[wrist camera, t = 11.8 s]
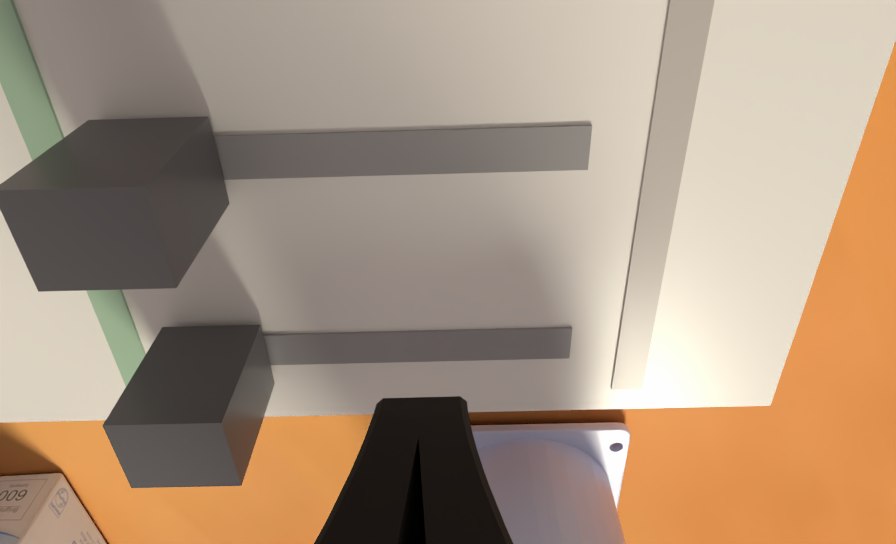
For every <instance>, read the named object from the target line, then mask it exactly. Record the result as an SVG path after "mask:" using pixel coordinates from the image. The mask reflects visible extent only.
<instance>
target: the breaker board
mask: <svg viewBox="0 0 896 544" xmlns="http://www.w3.org/2000/svg"><path fill="white" fill-rule="evenodd" d="M895 41H896V0H0V184H1V183H3V182H4V181H6V180H7V179H8V178H10V177H11V176H12V175H14V174H15V173H17V172H18V171H19V170H21V169H22V168H23V167H25V166H26V165H27V164H29V163H30V162H32V161H33V160H34V159H36V158H37V157H38V156H40V155H41V154H42V153H44V152H45V151H47V150H48V149H49V148H51V147H52V146H53V145H55V144H56V143H58V142H59V141H60V140H62V139H63V138H64V137H66V136H67V135H68V134H70V133H71V132H73V131H74V130H75V129H77V128H78V127H79V126H81V125H82V124H84V123H85V122H86V121H88V120H104V119H139V118H173V117H208V116H209V120H210V124H211V128H212V132H213V137H214V141H215V145H216V149H217V153H218V157H219V161H220V166H221V170H222V174H223V178H224V182H225V186H226V190H227V194H228V199H229V203H230V204H229V205H228V207H227V209H226V210H225V212H224V213H223V215H222V216H221V218H220V220H219V221H218V223H217V224H216V226H215V228H214V229H213V231H212V232H211V234H210V236H209V237H208V239H207V240H206V242H205V244H204V245H203V247H202V248H201V250H200V251H199V253H198V255H197V256H196V258H195V259H194V261H193V263H192V264H191V266H190V267H189V269H188V271H187V272H186V274H185V275H184V277H183V278H182V280H181V282H180V283H179V285H178V286H177V288H163V289H123V290H83V291H43V292H38V290H37V288H36V285H35V283H34V281H33V279H32V277H31V275H30V273H29V270H28V268H27V266H26V264H25V262H24V260H23V257H22V255H21V253H20V251H19V249H18V247H17V245H16V242H15V240H14V238H13V236H12V234H11V232H10V229H9V227H8V225H7V223H6V221H5V219H4V217H3V214H2V212H1V210H0V422H46V421H91V420H106V419H107V418H108V416H109V414H110V413H111V411H112V409H113V408H114V406H115V404H116V403H117V401H118V399H119V398H120V396H121V395H122V393H123V391H124V390H125V388H126V386H127V385H128V383H129V381H130V380H131V378H132V376H133V375H134V373H135V371H136V370H137V368H138V366H139V365H140V363H141V362H142V360H143V358H144V357H145V355H146V353H147V352H148V350H149V348H150V347H151V345H152V343H153V342H154V340H155V338H156V337H157V335H158V334H159V332H160V330H161V329H162V327H184V326H226V325H261V328H262V332H263V336H264V340H265V345H266V349H267V353H268V357H269V361H270V365H271V370H272V374H273V378H274V382H275V384H274V387H273V390H272V393H271V397H270V400H269V403H268V406H267V409H266V412H265V415H264V417H274V416H320V415H365V414H374V411H375V407H376V404H377V403H378V402H379V401H380V400H382V399H383V398H413V397H453V396H460V397H462V398H463V399H464V400H466V401H467V406H468V412H503V411H548V410H594V409H640V408H685V407H731V406H770V405H771V402H772V399H773V396H774V394H775V391H776V388H777V385H778V382H779V379H780V376H781V373H782V370H783V367H784V364H785V361H786V359H787V356H788V353H789V350H790V347H791V344H792V341H793V338H794V335H795V332H796V329H797V326H798V324H799V321H800V318H801V315H802V312H803V309H804V306H805V303H806V300H807V297H808V294H809V291H810V289H811V286H812V283H813V280H814V277H815V274H816V271H817V268H818V265H819V262H820V259H821V257H822V254H823V251H824V248H825V245H826V242H827V239H828V236H829V233H830V230H831V227H832V224H833V222H834V219H835V216H836V213H837V210H838V207H839V204H840V201H841V198H842V195H843V192H844V189H845V187H846V184H847V181H848V178H849V175H850V172H851V169H852V166H853V163H854V160H855V157H856V154H857V152H858V149H859V146H860V143H861V140H862V137H863V134H864V131H865V128H866V125H867V122H868V119H869V117H870V114H871V111H872V108H873V105H874V102H875V99H876V96H877V93H878V90H879V87H880V84H881V82H882V79H883V76H884V73H885V70H886V67H887V64H888V61H889V58H890V55H891V52H892V49H893V47H894V44H895Z"/></svg>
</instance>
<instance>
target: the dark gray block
mask: <svg viewBox="0 0 896 544" xmlns="http://www.w3.org/2000/svg"><path fill="white" fill-rule="evenodd" d="M229 204H230V203H229V199H228V194H227V190H226V186H225V182H224V178H223V174H222V170H221V166H220V161H219V157H218V153H217V149H216V145H215V141H214V137H213V132H212V128H211V124H210V120H209V116H208V117H173V118H139V119H104V120H88V121H86V122H85V123H84V124H82V125H81V126H79V127H78V128H77V129H75V130H74V131H73V132H71V133H70V134H68V135H67V136H66V137H64V138H63V139H62V140H60V141H59V142H58V143H56V144H55V145H53V146H52V147H51V148H49V149H48V150H47V151H45V152H44V153H42V154H41V155H40V156H38V157H37V158H36V159H34V160H33V161H32V162H30V163H29V164H27V165H26V166H25V167H23V168H22V169H21V170H19V171H18V172H17V173H15V174H14V175H12V176H11V177H10V178H8V179H7V180H6V181H4V182H3V183H1V184H0V210H1V212H2V214H3V217H4V219H5V221H6V223H7V225H8V227H9V229H10V232H11V234H12V236H13V238H14V240H15V242H16V245H17V247H18V249H19V251H20V253H21V255H22V257H23V260H24V262H25V264H26V266H27V268H28V270H29V273H30V275H31V277H32V279H33V281H34V283H35V285H36V288H37V290H38V292H43V291H83V290H123V289H163V288H177V286H178V285H179V283H180V282H181V280H182V278H183V277H184V275H185V274H186V272H187V271H188V269H189V267H190V266H191V264H192V263H193V261H194V259H195V258H196V256H197V255H198V253H199V251H200V250H201V248H202V247H203V245H204V244H205V242H206V240H207V239H208V237H209V236H210V234H211V232H212V231H213V229H214V228H215V226H216V224H217V223H218V221H219V220H220V218H221V216H222V215H223V213H224V212H225V210H226V209H227V207H228V205H229Z"/></svg>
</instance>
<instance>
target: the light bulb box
mask: <svg viewBox="0 0 896 544" xmlns="http://www.w3.org/2000/svg"><path fill="white" fill-rule="evenodd" d="M0 544H107V543H106V542H105V540H104V539H103V537H102V535H101V534H100V532H99V531H98V529H97V527H96V526H95V524H94V523H93V521H92V520H91V518H90V516H89V515H88V513H87V512H86V510H85V509H84V507H83V506H82V504H81V503H80V501H79V499H78V498H77V496H76V495H75V493H74V491H73V490H72V488H71V487H70V485H69V483H68V482H67V480H66V479H65V477H64V476H63V474H61V473H49V474H33V475H14V476H0Z"/></svg>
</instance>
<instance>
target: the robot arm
mask: <svg viewBox="0 0 896 544" xmlns="http://www.w3.org/2000/svg"><path fill="white" fill-rule="evenodd" d="M629 442H630V432H629V429H628V427H627V426H626V425H625V424H623V423H619V422H606V423H560V424H513V425H471V424H470V419H469V414H468V406H467V401H466V400H464V399H463V398H462V397H460V396H453V397H413V398H383V399H382V400H380V401H379V402H378V403H377V404H376V407H375V411H374V414H373V417H372V420H371V423H370V426H369V429H368V431H367V434H366V437H365V439H364V442H363V444H362V447H361V449H360V451H359V454H358V456H357V458H356V461H355V463H354V465H353V467H352V470H351V472H350V474H349V476H348V478H347V480H346V482H345V484H344V487H343V489H342V491H341V493H340V495H339V497H338V499H337V501H336V503H335V505H334V507H333V509H332V511H331V513H330V515H329V517H328V519H327V521H326V523H325V525H324V527H323V529H322V530H321V532H320V534H319V536H318V537H317V539H316V541H315V543H314V544H626V543H625V539H624V535H623V532H622V528H621V524H620V520H619V516H618V512H617V507H618V502H619V497H620V491H621V486H622V480H623V475H624V469H625V464H626V458H627V453H628V447H629ZM613 443H616V444H613Z"/></svg>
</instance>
